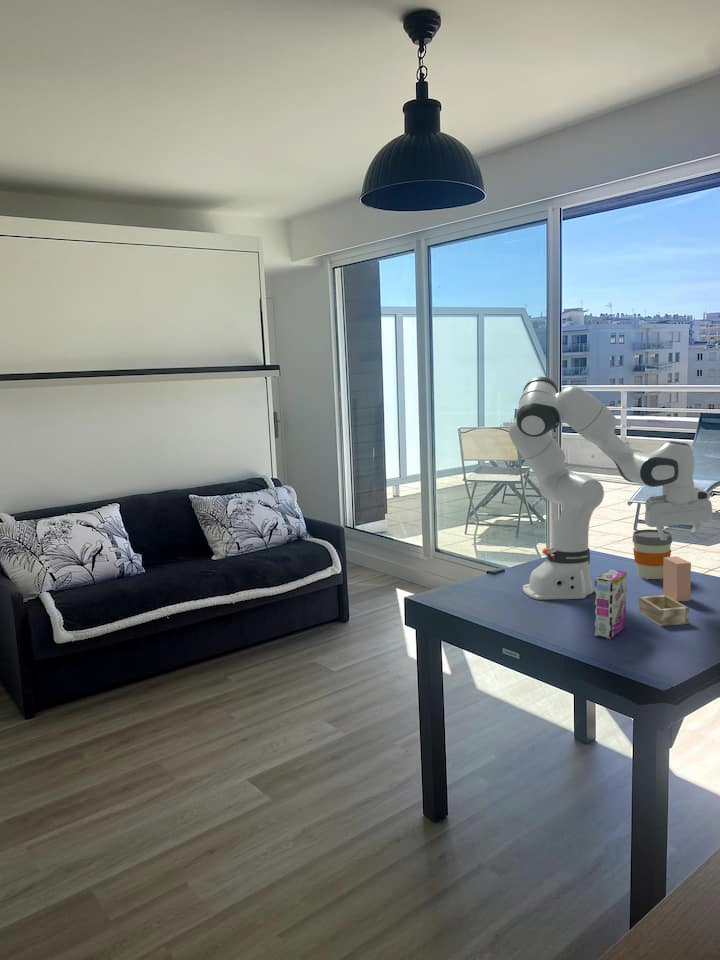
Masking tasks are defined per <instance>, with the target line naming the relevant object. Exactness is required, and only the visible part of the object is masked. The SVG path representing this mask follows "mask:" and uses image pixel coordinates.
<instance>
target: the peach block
mask: <svg viewBox="0 0 720 960" xmlns="http://www.w3.org/2000/svg"><path fill="white" fill-rule="evenodd" d="M691 568H692V562H690V561H688V560H686V559H683V558H682V557H680V556H677V555H676V556H670V557H664V561H663V579H662V581H663V582H662V585H663V586H662V595H667V596H669V597H671V598H672V599H674V600H676V601H682V602H690V601H691V587H692V586H691V583H692V582H691V581H692V580H691V578H692V577H691V576H692V575H691V574H692V573H691V571H692V569H691ZM689 600H690V601H689Z"/></svg>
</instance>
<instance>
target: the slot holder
mask: <svg viewBox="0 0 720 960" xmlns="http://www.w3.org/2000/svg"><path fill="white" fill-rule="evenodd" d="M638 599H639V601H638V607H639V608H638V612H639V613H640V614H641V615H643V617H646V618H647V619H649V620H650V621H652V622H653V623H655V624H656V625H658V626H659V627H664V626H667V627H668V626H676V625H677V626H678V625H687V624H689V623H690V622H689V621H690V620H689V619H690V618H689V616H690V615H689V613H690V608H689V607H688V606H686V605H684V604H683V603H681V602H678V601H676V600H674V599H672V598H671V597H669V596H667V595H664V594H662V595H652V596H651V595H650V596H640V597H639V598H638Z"/></svg>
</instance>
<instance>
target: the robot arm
mask: <svg viewBox="0 0 720 960" xmlns="http://www.w3.org/2000/svg"><path fill="white" fill-rule="evenodd" d="M561 422H562V423H566V424H567V425H568V426H569V427H570V428H572V430H574V431H575V432H576V433H577V434H578V435H580V436H581V437H582V438H584V439H585V440H587V441H589V442H590V443H592V444H594V445H595V446H597V448H599V449H600V450H601V451H602V452H603V453H604V454H605V455H606V456H607V457H608V458H609V459H611V461H613V462H614V464H615V465H616V467H617V469H618V472H619V474H620V476H621V477H622V479H624V480H625V481H627V482H629V483H634V484H635V483H636V484H640V485H643V486H646V487H649V488H657V487H662V495H657V496H650V497H649V498H647V499H646V500H645V512H644V523H645V525H646V526H647V527H650V528H656V529H655V530H658V532H659V534H660V539H661V540H667V534H665V533H664V532H663V531H665V527H668V526H669V527H670V526H679V525H689V524H690V525H691V524H692V525H693V527H692V529H691V530H689V531H688V533H689V534H688V536H689V537H690V538H697V535H698V530H699V529H700V528H701V523H708V522H711V521H712V519H713V505H712V501H711V500H710V499H711V493H710V492H709V491H706V490H703V489H699V488H698V487H697V488H696V487H695V482H694V478H693V476H694V472H695V458H694V452H693V447H692V446H691V444H688V443H687V442H681V441H680V442H679V441H673V440H670V441H669V440H668V441H666V442H664V444H663V445H661V447H659V448H658V449H656V450H655V451H653V452H650V453H647V452H645V451H644V452H643V451H640V450H637V449H633V448H631V447H630V446H629V445H627V444H626V443H625V442H624V441H623V440H622V439H621V438H620V436H618V435H617V433H616V432H615V430H616V427H617V419H616V417H615V415H614V413H613V412H612V411H611V410H610V409H609V407H607V406H606V405H605V404H604V403H603V402H602V401H600V400H599V399H598V398H596V397H595V396H594V395H592V394H591V393H590V392H588V391H586V390H585V389H584V388H581V387H579V386H577V385H571V386H570V385H569V386H567V387H566V388H563V390H561V391H560V392H559V390H558V386H557V385H556V383H555V382H554V380H553V379H551V378H549V377H546V376H536V377H533V378H531V379H530V380H529V381H528V382H527V383H526V384H525V386H524V388H523V390H522V394H521V396H520V397H519V402H518V408H517V413H516V418H515V419H514V420H513V421H512V422H511V423H510V424H509V427H508V435H509V437H510V439H511V441H512V444H513V446H514V447H515V449H516V450H517V452H518V453H519V454H520V456H521V457H522V459H523V460H524V461H525V462H526V464H527V465H528V466H529V468H530V469H531V470H532V471H533V473H534V475H535V476H536V478H537V481H538V492H539V493H540V495H541V496H542V497H543V498H544V499H546V500H547V501H549V502H551V503H553V504H557V505H561V512H560V516H559V518H558V519H557V520H555V521H554V523H553V525H552V547H551V549H548V548H546V547H545V548H543V549H542V551H541V552H542V554H543V555H545V556H547V558H546V560H544V561H543V562H542V563H541V564H540V565H537V566H536V568H534V569H533V570H532V571H531V572H530V577H529V583H527V584H524V585H522V592H523V593H524V594H525V595H526V596H527V597H530V598H532V599H534V600H573V599H574V600H578V599H579V600H581V599H585V598H587V596H588V595H592V593H594V592H595V588H594V586H593V583H592V580H591V571H590V563H591V552H590V548H589V529H590V522H591V519H592V516H593V513H594V511H595V509H596V508H598V507H599V506H600V504H601V503H603V502H602V501H603V500H604V496H605V491H604V487H603V485H602V483H601V482H600V481H599V480H597V479H596V478H594V477H592V476H589V475H586V474H582V473H576V472H573V471H571V469H569V468H568V467H567V465H566V463H565V461H566V453H565V451H564V450H563V449H562V448H561V446H560V444H559V443H558V442H557V441H556V440H555V438H554V437H553V436H552V433H550V431H552V430H554V429H556V428H558V427H559V426H560V423H561Z"/></svg>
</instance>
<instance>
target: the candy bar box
mask: <svg viewBox="0 0 720 960" xmlns="http://www.w3.org/2000/svg"><path fill="white" fill-rule="evenodd" d="M594 583H595V584H594V586H595V588H594V637H598V638H603V639H607V640H612V639H613V638H614V637H616V636H617V635H618V634H619V633H620V632H622V631H623V630H624V629H625V628H626V619H627V618H626V615H627V614H626V613H627V612H626V611H627V610H626V605H627V601H626V600H627V571H623V570H615V569H609V570H607V571H605V572H604V573H603V574H600V575H599V576H598V577H596V578H594Z"/></svg>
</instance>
